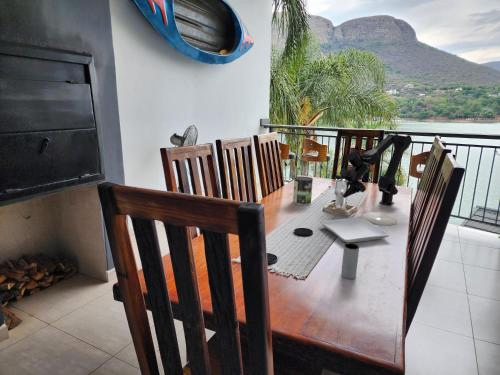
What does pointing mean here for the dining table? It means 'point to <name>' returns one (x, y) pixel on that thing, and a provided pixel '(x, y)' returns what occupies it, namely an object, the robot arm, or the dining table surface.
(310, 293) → the dining table surface
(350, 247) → the planter
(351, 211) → the beech frame
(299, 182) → the coffee can
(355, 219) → the salad plate
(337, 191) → the steel cup
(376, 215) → the white flat disc
